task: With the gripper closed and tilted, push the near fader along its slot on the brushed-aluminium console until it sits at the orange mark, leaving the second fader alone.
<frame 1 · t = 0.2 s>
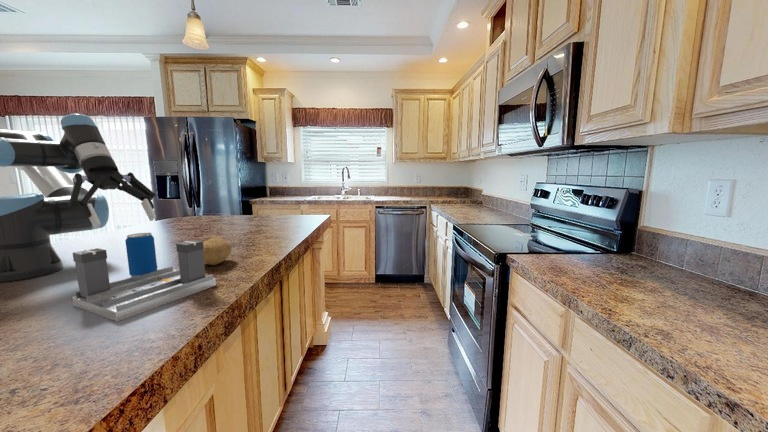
hand: (127, 222, 89), 15 cm above the countertop, tool tilted 35°, fingers open, 13 cm apart
fader far: (191, 261, 78), point 7 cm above the countertop, slide at 0.0 cm
console: (150, 294, 76), on the countertop
fader near: (92, 272, 70), point 7 cm above the countertop, slide at 0.0 cm
beverage can: (144, 275, 90), on the countertop
potato: (214, 264, 101), on the countertop
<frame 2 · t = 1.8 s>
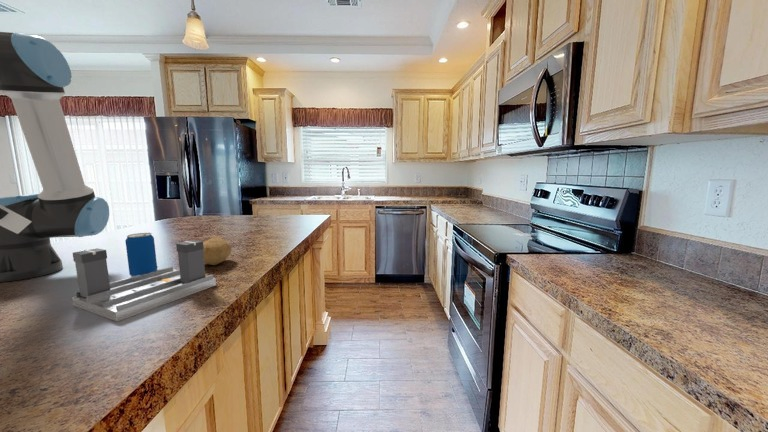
hand: (9, 225, 58), 20 cm above the countertop, tool tilted 45°, fingers open, 12 cm apart
nothing on the countertop moved.
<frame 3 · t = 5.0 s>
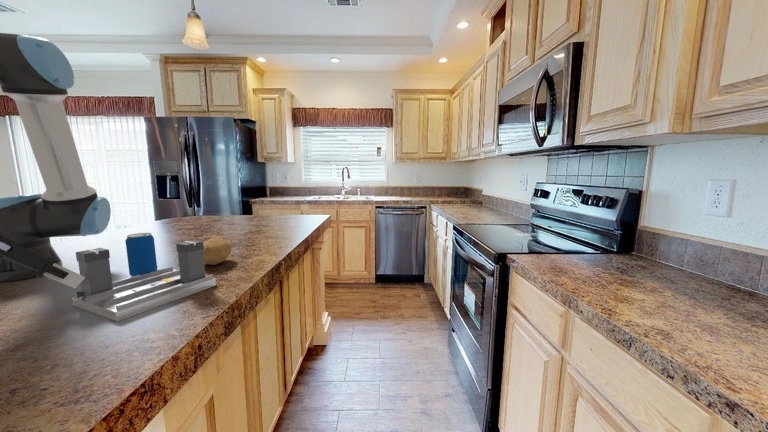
hand: (78, 282, 67), 6 cm above the countertop, tool tilted 45°, fingers closed
fader near: (95, 271, 70), point 7 cm above the countertop, slide at 0.5 cm, touching gripper
everything else where it was.
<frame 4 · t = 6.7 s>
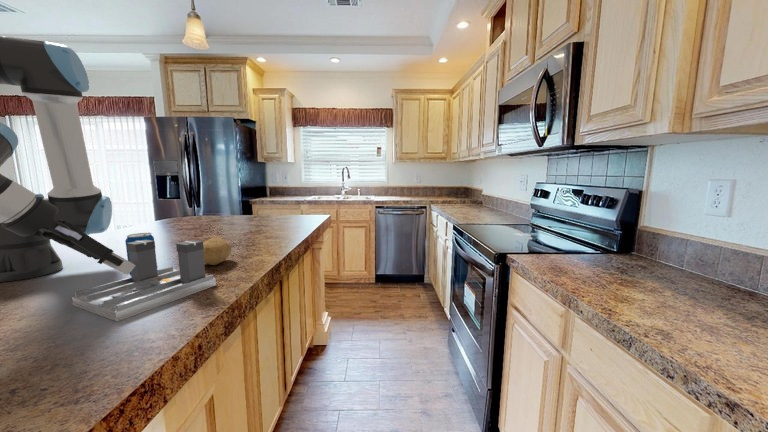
hand: (130, 269, 76), 6 cm above the countertop, tool tilted 45°, fingers closed
fader near: (142, 260, 79), point 7 cm above the countertop, slide at 10.2 cm, touching gripper
everything else where it was.
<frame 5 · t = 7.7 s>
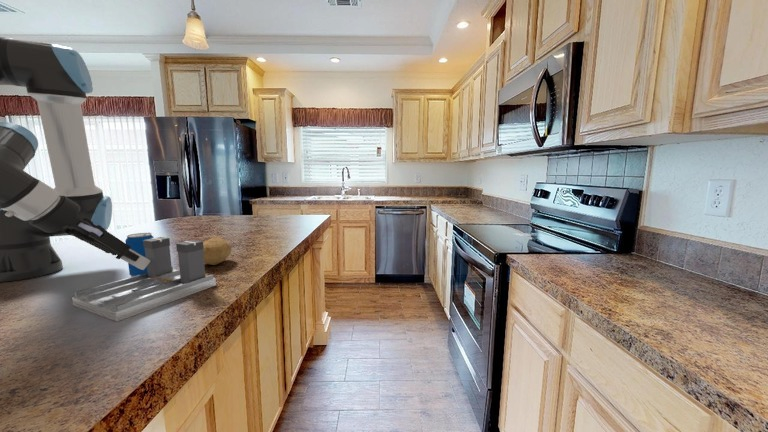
hand: (145, 265, 79), 6 cm above the countertop, tool tilted 45°, fingers closed
fader near: (158, 257, 82), point 7 cm above the countertop, slide at 13.9 cm, touching gripper
everything else where it was.
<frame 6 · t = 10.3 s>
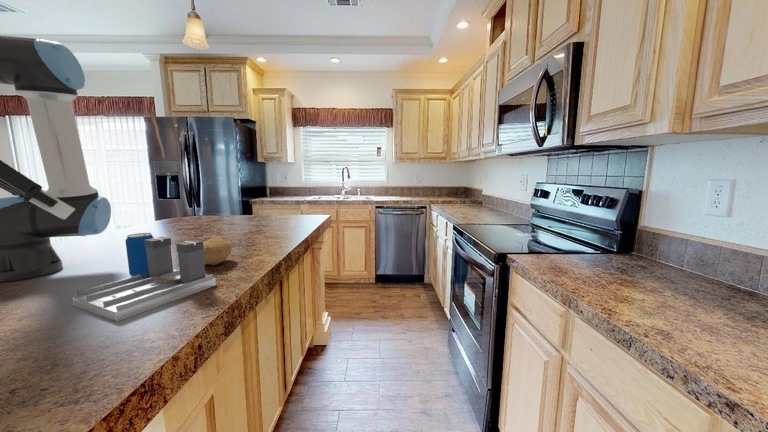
hand: (68, 214, 65), 21 cm above the countertop, tool tilted 45°, fingers closed
everything else where it was.
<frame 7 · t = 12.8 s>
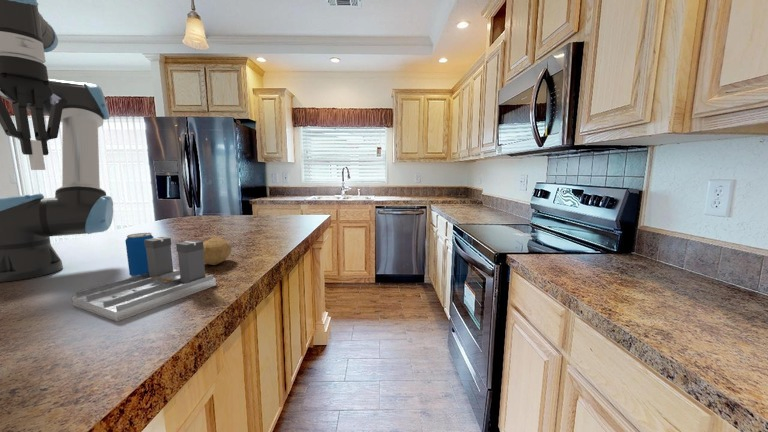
hand: (38, 169, 70), 30 cm above the countertop, tool pointing down, fingers closed
nothing on the countertop moved.
at the end: fader near slide at 14.2 cm; fader far slide at 0.0 cm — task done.
